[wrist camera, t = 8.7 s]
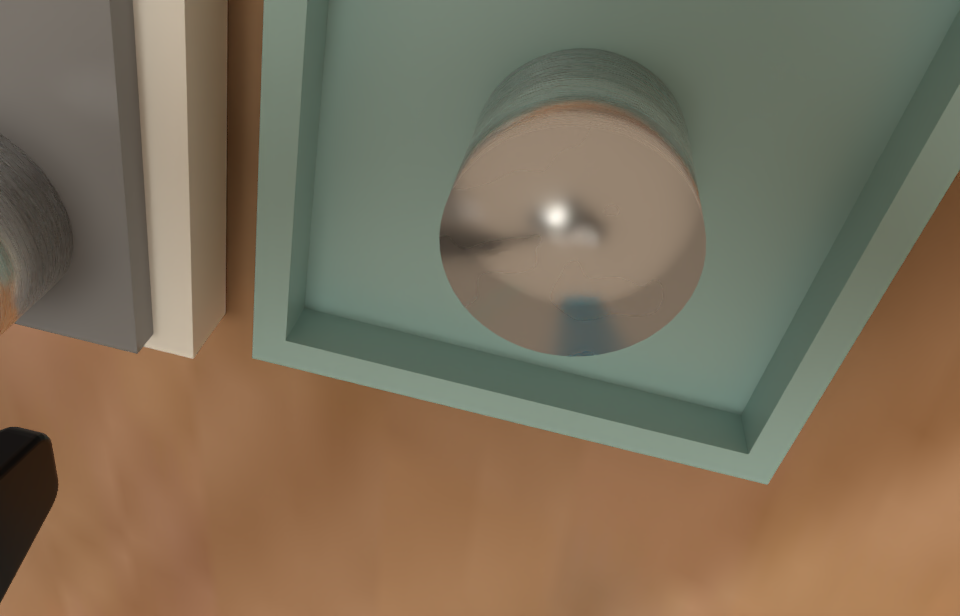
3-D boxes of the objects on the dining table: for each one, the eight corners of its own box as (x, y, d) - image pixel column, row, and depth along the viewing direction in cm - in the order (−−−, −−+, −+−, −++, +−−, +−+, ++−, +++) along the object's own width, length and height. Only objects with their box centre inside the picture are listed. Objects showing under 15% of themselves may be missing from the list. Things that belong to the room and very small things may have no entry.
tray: (755, 428, 21) (767, 484, 19) (280, 311, 21) (252, 358, 19) (1057, -110, 13) (1119, -92, 12) (315, -290, 13) (273, -297, 12)
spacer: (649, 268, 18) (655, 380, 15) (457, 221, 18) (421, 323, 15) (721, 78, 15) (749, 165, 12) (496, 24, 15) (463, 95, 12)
